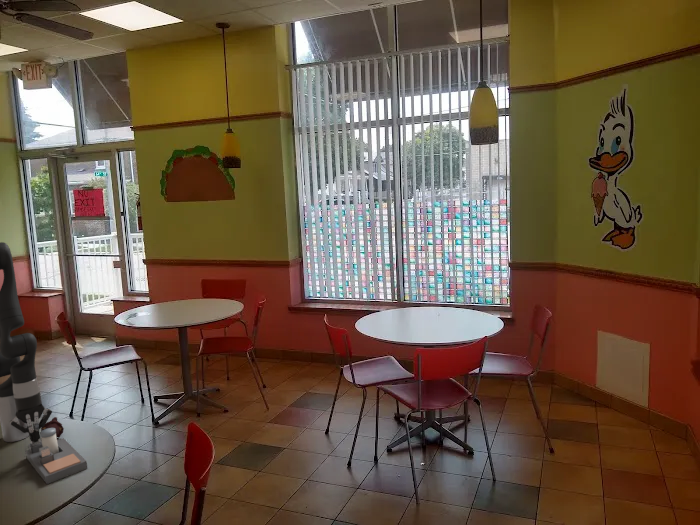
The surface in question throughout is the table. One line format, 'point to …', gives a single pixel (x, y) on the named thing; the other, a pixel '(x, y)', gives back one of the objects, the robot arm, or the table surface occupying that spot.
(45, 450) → the button front
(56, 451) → the cartridge
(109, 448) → the table surface
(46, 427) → the icecream
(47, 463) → the housing
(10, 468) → the table surface
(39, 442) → the button back
